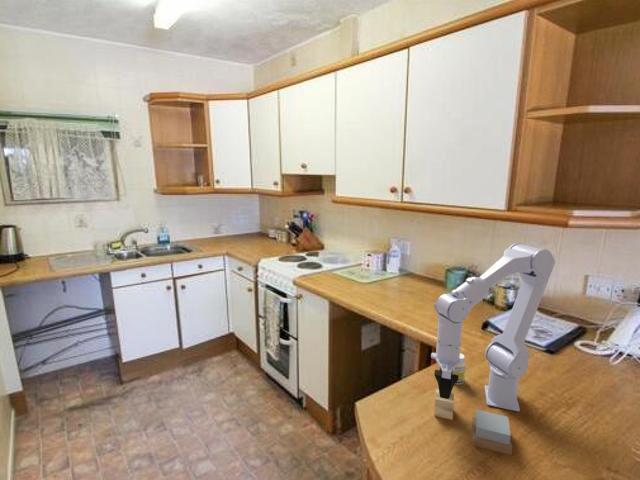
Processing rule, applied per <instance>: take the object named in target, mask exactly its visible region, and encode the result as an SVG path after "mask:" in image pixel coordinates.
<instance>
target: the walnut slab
mask: <svg viewBox="0 0 640 480" xmlns="http://www.w3.org/2000/svg"><path fill="white" fill-rule="evenodd" d="M471 419H472V420H471V430H472V431H471V432H472V446H474V447H476V448H482V449H485V450H486V449H487V450H490V451H494V452H498V453H501V454H505V455H506V454H507V455H511V456H512V453H513V443H512V440H511V437H510V445H506V444H502V443H498V442H494V441H491V440H487V439H483V438H479V437H476V417H472V418H471Z"/></svg>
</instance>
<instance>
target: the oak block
mask: <svg viewBox="0 0 640 480" xmlns="http://www.w3.org/2000/svg"><path fill="white" fill-rule="evenodd" d="M454 397H455V393H454V392H451V395H450V398H449V399H445V398H441V397H440V394H439V389H437V388H436V389H435V397H434V415H433V416H434V417H437V418H441V419H442V418H443V419H447V420H452V421H453V419H454V418H453V417H454V403H455V402H454V401H455V400H454V399H455V398H454Z"/></svg>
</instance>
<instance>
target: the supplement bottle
mask: <svg viewBox="0 0 640 480" xmlns="http://www.w3.org/2000/svg"><path fill="white" fill-rule="evenodd" d="M465 359H466V357H465V355H464V354H463V353H461V352H460V363H459V364H458V365H457V366H456V368H455V369H454V370H453V373H452V374H454V375H458V381H457V382H456V383H455V385H463V384H464V383H465V374H466V362H465V361H466V360H465Z"/></svg>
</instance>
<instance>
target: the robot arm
mask: <svg viewBox="0 0 640 480" xmlns="http://www.w3.org/2000/svg"><path fill="white" fill-rule="evenodd" d="M555 260H556V259H555V257H554V256H553V253H552V252H551V251H550V250H548V249H545V248H539V247H535V246H530V245H526V244H523V243H520V242H515V243H513V244H511V245H510V246H509V247H508V248H505V250H504V252H503V256H502V257H501V258H500V259H498V260H497V261H496V262H495V263H494V264H493V265H491V266H490V268H488V269H487V270H486V271H485V272H484V273H482V274H481V275H479V276H478V277H477V276H471V277H467V278H466V279H465V282H462V284H460V285H459V286H458V287H456V288H455V289H453V290H452V291H451V292H450V293H448V292H447V293H443V294H441V295H440V296H439V297H438V298H437V299H436V301H435V303H433V305H434V306H433V307H434V310H435V311H436V312H435V313H437V319H438V321H437V322H438V323H437V332H436V333H437V335H436V350H435V352H431V353H430V354H431V355H430V357H431V359H433V360H435V361H436V363H437V364H438V366H439V369H434V373H433V374H434V378H435V379H436V382H437V386H438V390H439V394H440V397H441V398H445V399H449V398H450V395H451V392H452V391H453V388H454V387H455V385H456V384H455V383H456V382H457V381H458V375H454V374H452V373H453V370H454V369H455V368H456V366H457V365H458V364H459V363H460V353H461V343H462V333H463V321H465V320H466V319H467V318H468V317H469V313H470V311H471V310H472V309H473V307H474V306H475V305H477V304H478V303H479V302H481V301H482V300H483V299H485V298H486V297H487V296H488V295H489V294H490V288H492V286H495V285H496V284H497V283H499V282H501V281H502V280H503V279H506V278H507V277H508V276H510V275H512V274H513V273H518V274H519V276H520V278H521V280H522V283H521V285H520V288H519V290H518V293H517V295H516V298H515V300H514V303H513V306H512V309H511V310H510V314H509V317H508V318H507V321H506V324H505V326H504V327H505V328H504V329H503V332H502V333H501V334H499V335H495V336H493V338H492V339H491V342H490V343H489V344H488V346H487V347H486V349H485V351H484V357H485V359H486V361H487V362H488V366H489V375H488V385H484V392H485V400H486V405H487V406H491V407H495V408H500V409H504V410H510V411H514V412H520V410H521V408H520V406H519V405H520V404H519V401H518V390H519V383H520V382H519V381H520V378H522V377H523V376H524V375H526V373H527V371H528V368H529V358H530V357H531V353H530V350H529V349H528V347H527V346H526V343H525V341H526V338H527V336H528V333H529V331H530V329H531V326H532V323H533V321H534V318H535V316H536V313H537V311H538V308H539V305H540V303H541V300H542V298H543V295H544V292H545V290H546V288H547V285H548V282H549V280H550V276H551V275H552V272H553V269H554V267H555V264H556V261H555Z"/></svg>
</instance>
